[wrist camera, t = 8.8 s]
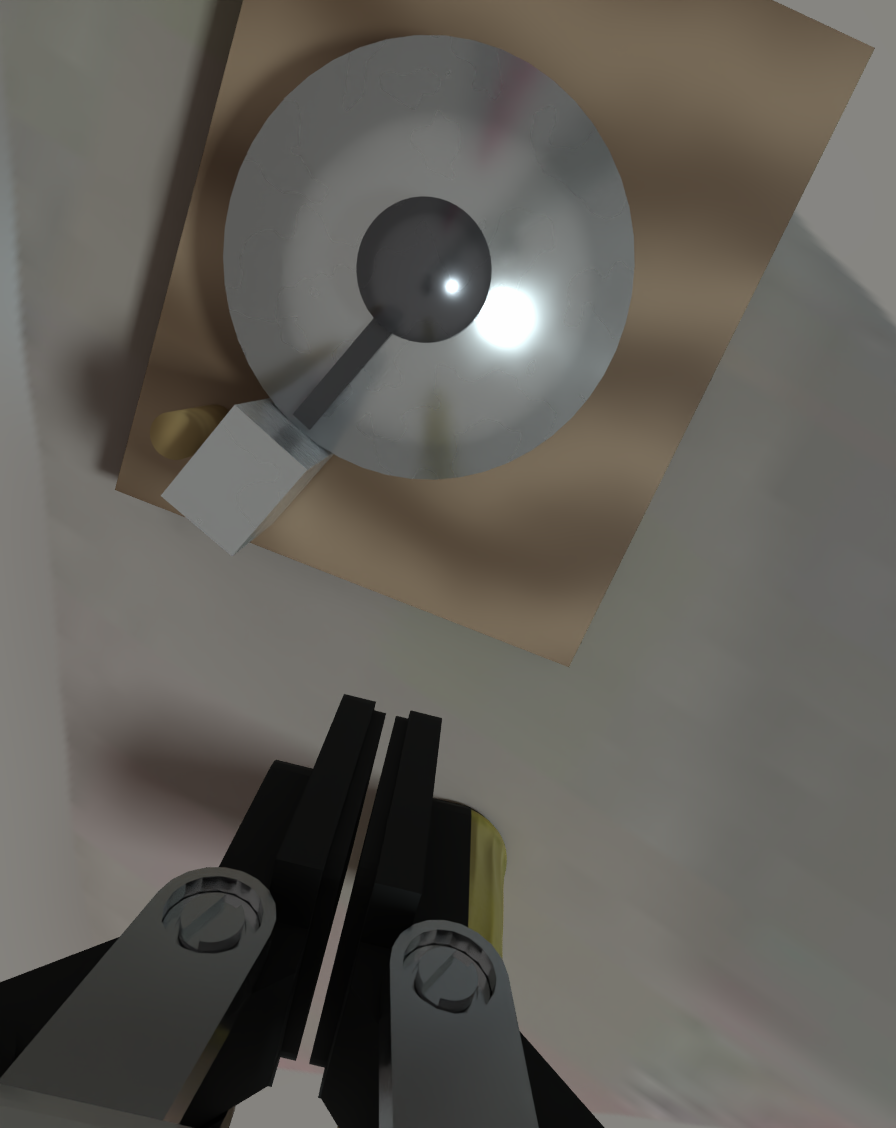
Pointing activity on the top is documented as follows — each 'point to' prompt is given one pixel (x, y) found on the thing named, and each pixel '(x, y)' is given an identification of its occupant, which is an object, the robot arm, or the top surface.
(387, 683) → the top surface
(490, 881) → the vase
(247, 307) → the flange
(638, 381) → the base plate
